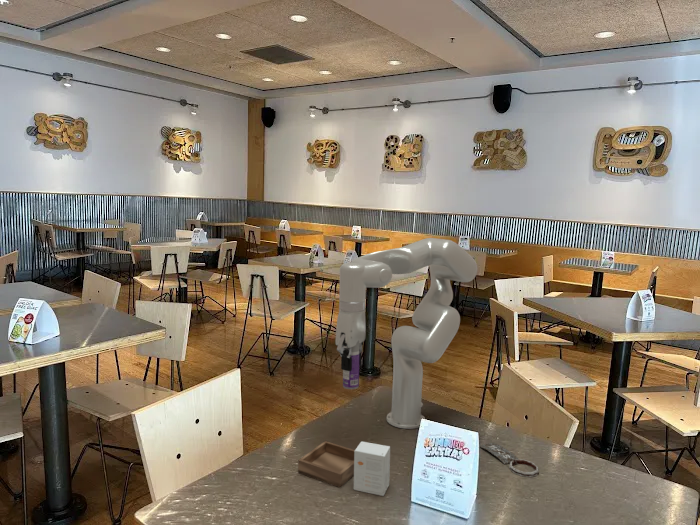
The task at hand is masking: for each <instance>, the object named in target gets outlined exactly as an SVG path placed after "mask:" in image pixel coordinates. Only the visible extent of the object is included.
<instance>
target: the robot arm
mask: <svg viewBox="0 0 700 525" xmlns="http://www.w3.org/2000/svg"><path fill="white" fill-rule="evenodd" d="M428 266H429V272H430V273H429V274H430V285H429V289H428V291H427V293H425V295H424V297H423V298H422V299H421V300H420V302H419V304H418V305H417V306H416V308H415V310H414V312H413V313H412V317H411V320H412V323H413V325H414V326H410V325H402V326H401V325H400V326H399V327H396V329H395V330H394V331H393V333H392V335H391V341H390V342H391V350H392V358H393V361H392V362H393V369H392V370H393V371H392V372H393V373H392V389H391V390H392V392H391V393H392V394H391V411H390V412H389V413H387V414H386V422H387V423H388V424H389V425H391V426H393V427H395V428H398V429H404V430H408V429H409V430H413V429H418V428H420V427H419V425H420V420H421V419H422V418H424V419H425V420H426V417H425V416H424V415H422V413H421V412H422V407H423V406H424V403H423V402H422V395H423V394H422V392H423V376H424V374H423V373H424V369H423V363H426V364H434V363H436V362H437V361H439V360H440V358H441V357H442V356H443V354H444V353H445V352H446V350H447V349H448V347H449V345H450V344H451V342H452V341H453V339H454V337H455V336H456V334H457V333H458V331H459V327H460V323H461V316H460V313H459V311H458V310H457V308H454V307H452V306H450V305H451V303H452V301H453V299H454V292H453V288H452V285H451V281H453V282H454V281H455V282H459V283H469V282H471V281H473V280H474V279H475V278H476V276H477V274H478V264H477V262H476V260H475V259H474V257H473V256H472V255H471V254H469V252H467V251H466V250H465V249H464V248H463V247H462V246H461V245H459V243H457V242H455V241H453V240H451V239H443V238H435V237H427V238H423V239H420V240H417V241H414V242H412V243H410V244H407V245H404V246H401V247H396V248H390V249H385V250H380V251H379V250H378V251H374V252H370V253H367V254H364V255H362V256H359V257H356V258H355V259H353V260H352V261H351V262H345V263H342V265H340V267H339V288H338V289H339V294H338V295H339V298H338V299H339V300H338V302H339V303H338V304H339V305H338V306H339V307H338V315H337V319H336V327H335V328H336V330H335V345H336V346H337V347H336V351H337V352H338V353H339V355H340V358H341V361H340V362H341V363H340V364H341V365H340V369H341V371H343V370H346V371H351V370H352V357H351V350H352V347H353V346H355V345H356V344H357V341H358V340H359V367H361V366H362V352H363V345H364V343H365V340H366V332H367V329H366V325H367V324H366V297H367V295H366V294H367V293H366V291H367V288H375V289H377V288H383V287H385V286H387V285H389V284H390V282H391V280H392V277H393V275H407V274H411V273H414V272H416V271H418V270H420V269H423V268H426V267H428ZM415 326H416V327H415ZM345 344H347V346H345ZM345 348H347V349H348V352H347V351H346V350H345ZM422 362H423V363H422Z"/></svg>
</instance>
